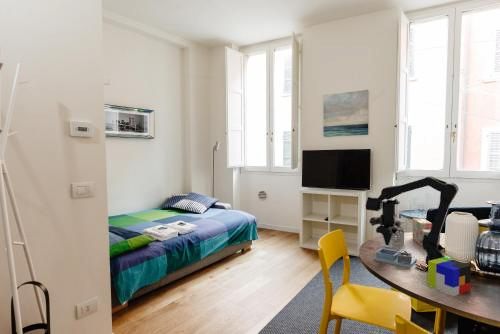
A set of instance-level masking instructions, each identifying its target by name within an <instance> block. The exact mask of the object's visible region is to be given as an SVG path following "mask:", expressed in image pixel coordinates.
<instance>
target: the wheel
mask: <svg viewBox="0 0 500 334" xmlns="http://www.w3.org/2000/svg"><path fill="white" fill-rule="evenodd" d="M405 255H406V256H405ZM412 258H413V257H412V252H403V251H400V252H398V261H403V262H411V259H412Z"/></svg>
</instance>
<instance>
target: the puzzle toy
mask: <svg viewBox="0 0 500 334" xmlns="http://www.w3.org/2000/svg"><path fill="white" fill-rule="evenodd" d="M471 270H472V266H471V264H469V263H465V262H462V261H459V260H455V259H453V258H449V257H448V256H447V257H446V256H445V257H443V258H439V259H435V260H430V261H428V268H427V286H429V287H431V288H434V289H435V290H438V291H439V292H442V293H444V294H447V295H449V296H450V297H455V296H459V295H461V294H464V293H467V292H470V291H471V272H472V271H471Z"/></svg>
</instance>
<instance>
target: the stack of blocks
mask: <svg viewBox="0 0 500 334" xmlns="http://www.w3.org/2000/svg"><path fill="white" fill-rule="evenodd" d="M432 225H433V222H430V221H428V220H427V219H425V218H422V217H421V218H419V217H418V218H416V217H415V218H414V217H413V218H412V239H413V240H414V241H415V242H416V243H417V244H419V245H420V246H422V244H423V243H421V242H422V241H423V238H424V234H425V233H426V232H430V230H431V227H432ZM422 248H423V246H422Z"/></svg>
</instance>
